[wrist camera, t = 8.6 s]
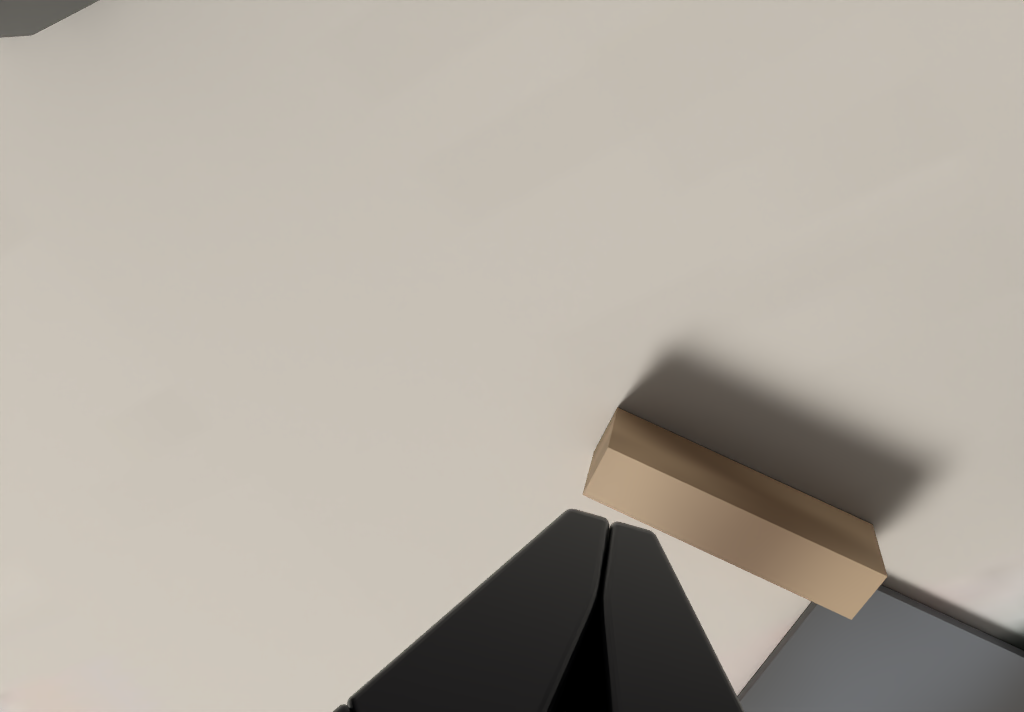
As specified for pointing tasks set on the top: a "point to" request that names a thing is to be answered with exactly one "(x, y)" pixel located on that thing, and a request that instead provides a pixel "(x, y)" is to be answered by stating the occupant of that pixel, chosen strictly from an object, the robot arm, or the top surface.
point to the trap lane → (806, 584)
